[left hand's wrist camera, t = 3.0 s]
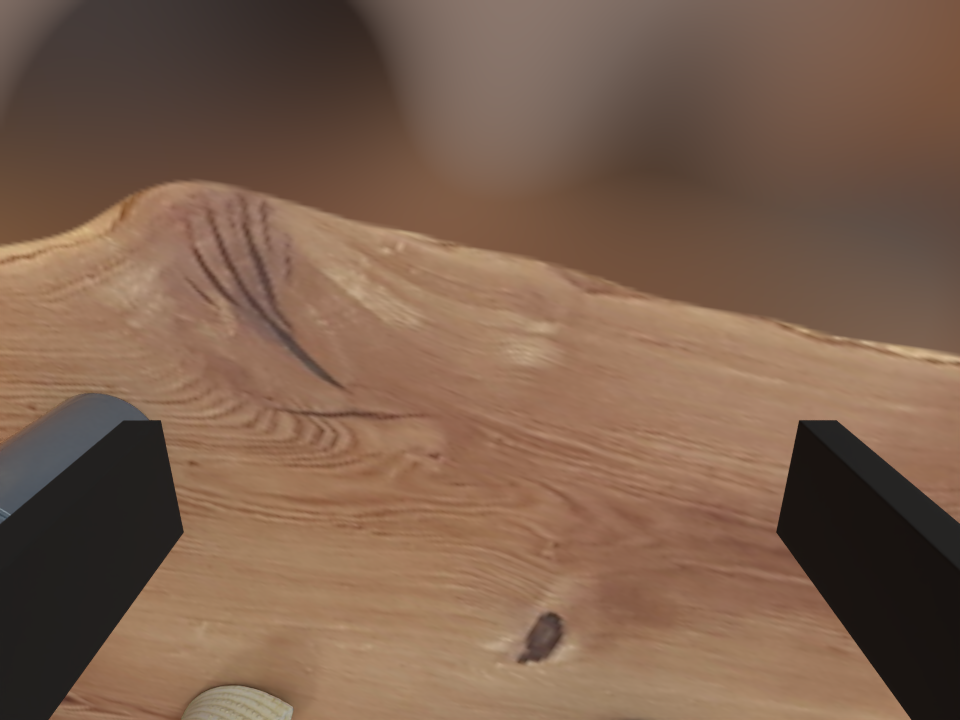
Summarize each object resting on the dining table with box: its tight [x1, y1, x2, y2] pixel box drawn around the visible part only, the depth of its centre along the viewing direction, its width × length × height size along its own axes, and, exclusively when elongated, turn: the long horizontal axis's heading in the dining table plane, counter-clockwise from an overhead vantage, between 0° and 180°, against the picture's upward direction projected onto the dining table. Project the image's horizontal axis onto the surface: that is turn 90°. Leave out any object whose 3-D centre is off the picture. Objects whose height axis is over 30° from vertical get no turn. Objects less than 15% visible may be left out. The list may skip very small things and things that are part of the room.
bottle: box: [0, 393, 149, 524], centre depth 36 cm, size 8×8×17 cm
